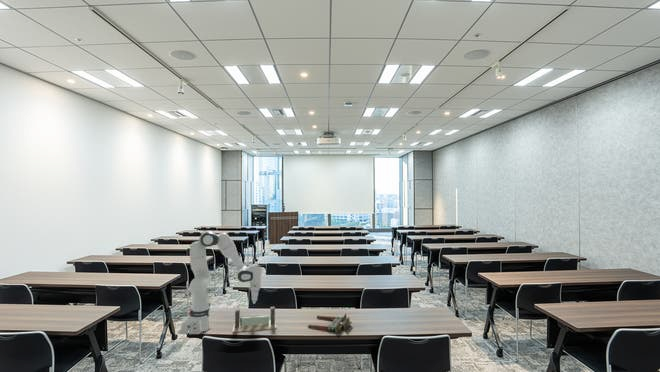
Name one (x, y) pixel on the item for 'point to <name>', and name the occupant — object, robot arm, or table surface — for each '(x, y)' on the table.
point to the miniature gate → (333, 323)
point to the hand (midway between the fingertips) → (254, 303)
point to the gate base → (254, 327)
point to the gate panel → (254, 320)
